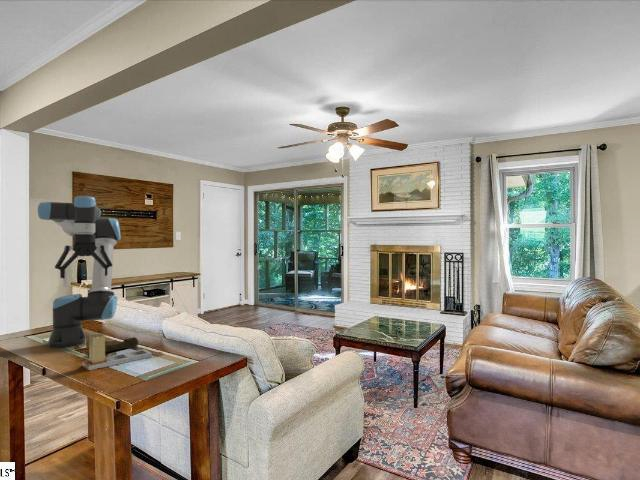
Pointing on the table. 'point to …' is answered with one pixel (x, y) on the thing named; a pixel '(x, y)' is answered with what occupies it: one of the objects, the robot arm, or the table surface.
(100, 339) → the brass post
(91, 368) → the triple square frame
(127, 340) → the hand tool
